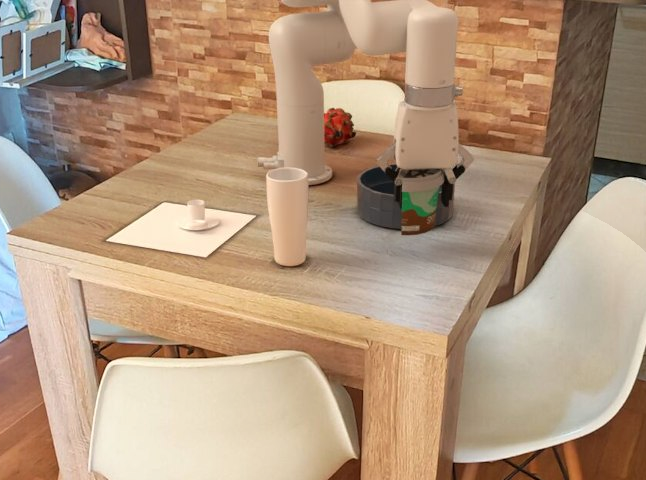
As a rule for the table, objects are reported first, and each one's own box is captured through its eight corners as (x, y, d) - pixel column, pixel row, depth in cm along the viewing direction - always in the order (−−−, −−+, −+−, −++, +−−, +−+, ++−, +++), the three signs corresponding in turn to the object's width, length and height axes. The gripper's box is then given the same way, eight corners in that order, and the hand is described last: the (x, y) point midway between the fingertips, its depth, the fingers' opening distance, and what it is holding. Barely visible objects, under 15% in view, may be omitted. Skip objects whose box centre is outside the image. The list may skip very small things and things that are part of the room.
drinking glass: (269, 253, 141) (265, 167, 132) (309, 251, 141) (307, 166, 133) (270, 270, 135) (265, 181, 127) (311, 268, 135) (309, 180, 127)
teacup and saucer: (205, 236, 147) (203, 214, 144) (166, 230, 149) (163, 209, 147) (227, 219, 153) (226, 198, 151) (190, 213, 156) (187, 192, 153)
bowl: (362, 232, 148) (362, 198, 145) (352, 196, 163) (352, 164, 160) (461, 229, 149) (464, 195, 146) (442, 193, 165) (444, 162, 161)
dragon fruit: (337, 141, 199) (340, 164, 190) (308, 122, 195) (310, 144, 186) (358, 113, 195) (363, 135, 186) (329, 93, 191) (333, 115, 182)
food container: (437, 241, 133) (441, 181, 128) (400, 238, 134) (402, 179, 129) (444, 213, 143) (448, 157, 138) (409, 211, 144) (412, 154, 139)
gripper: (478, 88, 131) (469, 195, 141) (370, 90, 130) (368, 198, 139) (489, 100, 125) (478, 211, 134) (376, 102, 123) (373, 215, 133)
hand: (422, 204), depth 137 cm, fingers closed on food container, 6 cm apart
